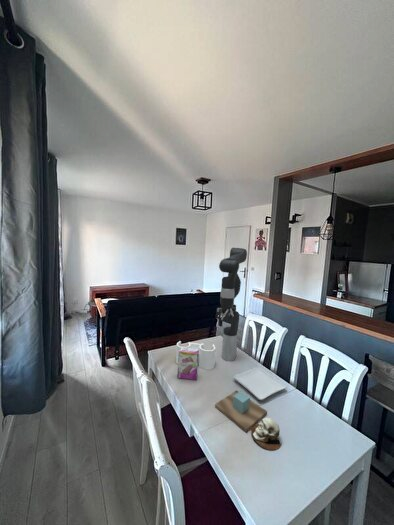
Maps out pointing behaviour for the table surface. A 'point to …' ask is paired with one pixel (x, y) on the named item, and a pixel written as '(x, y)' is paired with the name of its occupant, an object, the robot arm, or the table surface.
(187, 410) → the table surface
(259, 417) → the walnut board
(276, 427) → the skull
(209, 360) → the bracket
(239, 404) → the slate cube
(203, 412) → the table surface
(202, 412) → the table surface
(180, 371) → the candy bar box
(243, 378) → the salad plate
